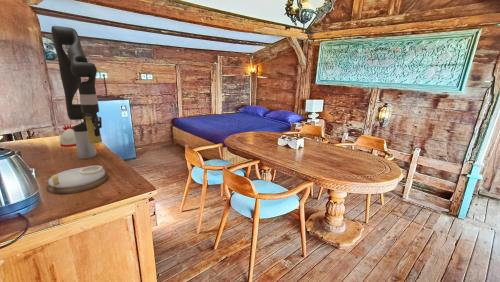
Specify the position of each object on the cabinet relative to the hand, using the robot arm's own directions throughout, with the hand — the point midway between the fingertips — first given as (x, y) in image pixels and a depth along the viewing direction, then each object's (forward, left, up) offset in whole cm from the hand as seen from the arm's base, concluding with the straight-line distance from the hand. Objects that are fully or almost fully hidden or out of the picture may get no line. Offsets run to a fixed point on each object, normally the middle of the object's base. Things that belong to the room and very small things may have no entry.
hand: (94, 135), depth 123 cm
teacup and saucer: (-86, +20, -20) cm, 90 cm away
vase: (0, 0, -4) cm, 4 cm away
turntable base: (+7, -14, -20) cm, 25 cm away
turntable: (+7, -14, -18) cm, 23 cm away
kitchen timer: (-67, +15, -20) cm, 71 cm away
